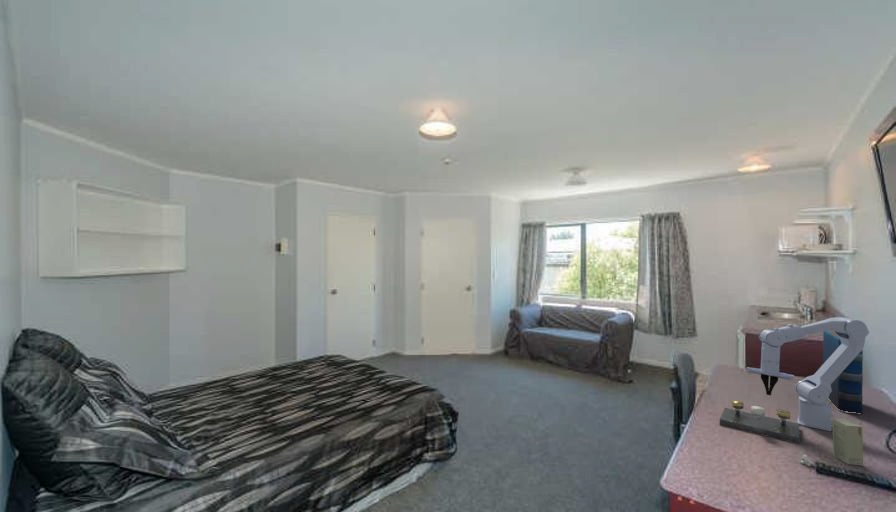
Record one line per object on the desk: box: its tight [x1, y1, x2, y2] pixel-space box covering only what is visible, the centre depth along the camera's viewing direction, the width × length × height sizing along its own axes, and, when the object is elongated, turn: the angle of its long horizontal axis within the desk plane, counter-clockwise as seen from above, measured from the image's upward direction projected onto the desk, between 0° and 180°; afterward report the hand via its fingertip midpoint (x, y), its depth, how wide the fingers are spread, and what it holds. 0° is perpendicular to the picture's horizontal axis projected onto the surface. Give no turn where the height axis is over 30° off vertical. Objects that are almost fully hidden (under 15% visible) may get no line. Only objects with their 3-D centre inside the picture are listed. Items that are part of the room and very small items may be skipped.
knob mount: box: [719, 407, 800, 444], centre depth 149 cm, size 23×15×2 cm, turn 48°
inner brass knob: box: [775, 408, 791, 424], centre depth 148 cm, size 4×4×4 cm
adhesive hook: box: [800, 454, 815, 467], centre depth 123 cm, size 3×3×3 cm
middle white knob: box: [750, 405, 766, 420], centre depth 146 cm, size 4×4×4 cm
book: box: [822, 331, 864, 413], centre depth 170 cm, size 24×9×30 cm, turn 148°
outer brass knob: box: [730, 399, 745, 413], centre depth 157 cm, size 4×4×4 cm
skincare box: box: [832, 417, 864, 466], centre depth 125 cm, size 6×4×12 cm
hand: (768, 394), depth 155 cm, fingers closed
